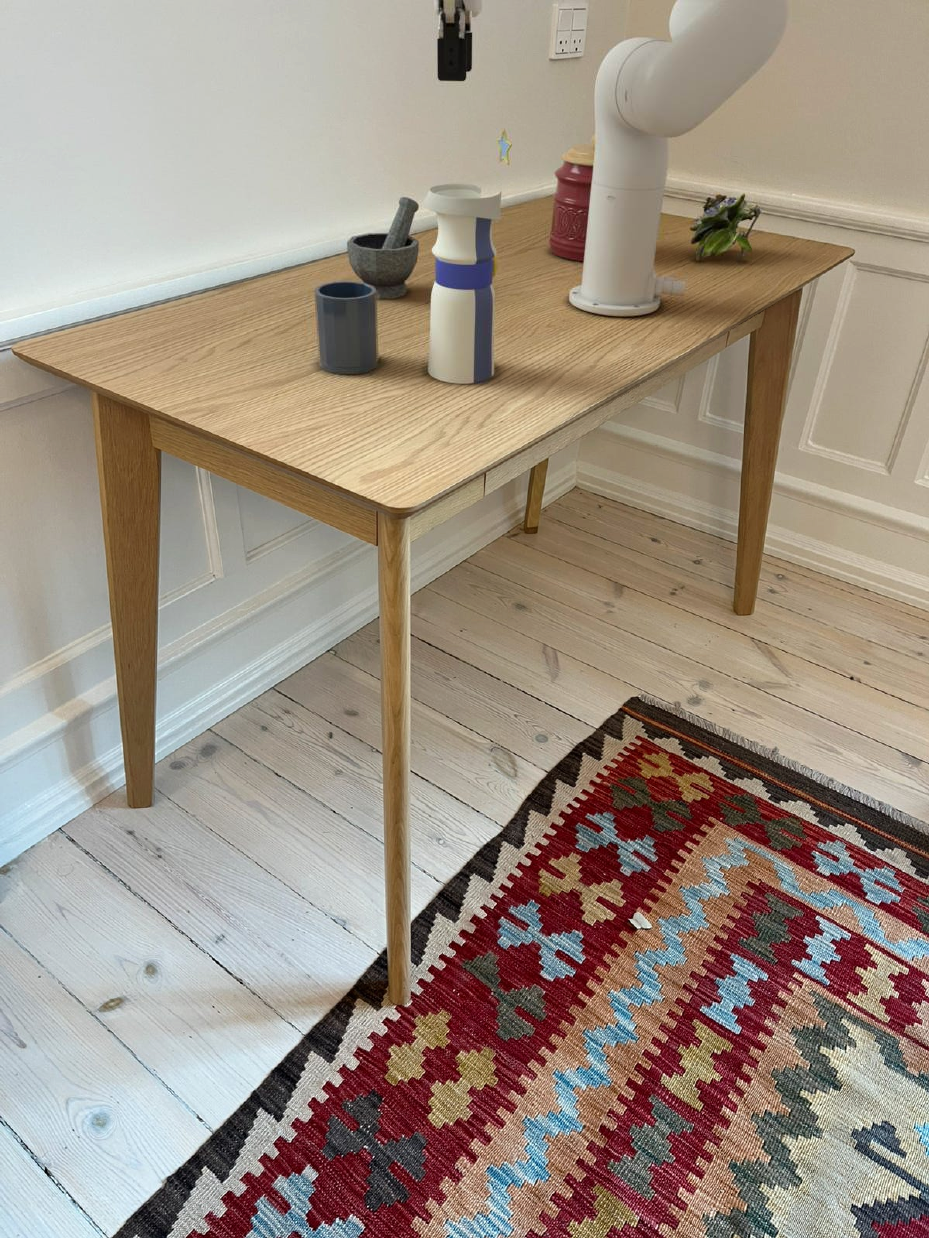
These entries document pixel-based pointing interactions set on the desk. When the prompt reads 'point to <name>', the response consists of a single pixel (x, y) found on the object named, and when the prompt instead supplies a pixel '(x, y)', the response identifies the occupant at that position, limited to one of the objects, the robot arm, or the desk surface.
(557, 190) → the kitchen canister
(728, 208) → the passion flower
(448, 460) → the desk surface
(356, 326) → the blue cup
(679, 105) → the robot arm
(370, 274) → the mortar and pestle
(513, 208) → the desk surface
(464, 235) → the water bottle
